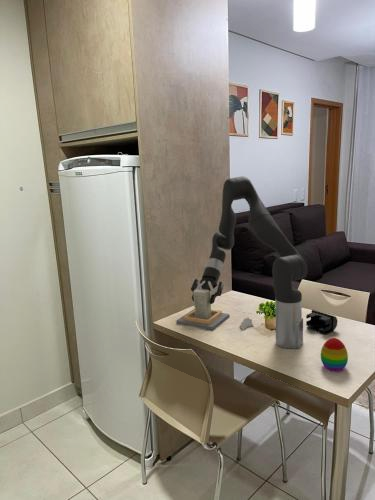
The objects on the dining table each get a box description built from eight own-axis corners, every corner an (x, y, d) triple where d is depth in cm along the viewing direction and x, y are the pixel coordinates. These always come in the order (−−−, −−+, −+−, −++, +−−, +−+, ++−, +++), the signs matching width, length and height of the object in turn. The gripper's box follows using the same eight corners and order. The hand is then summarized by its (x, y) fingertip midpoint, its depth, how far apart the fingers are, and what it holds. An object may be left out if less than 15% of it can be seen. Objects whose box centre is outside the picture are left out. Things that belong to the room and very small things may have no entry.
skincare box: (211, 316, 167) (210, 290, 165) (207, 319, 164) (205, 292, 161) (199, 314, 170) (197, 288, 168) (194, 317, 167) (192, 291, 164)
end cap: (337, 330, 150) (338, 314, 148) (326, 335, 146) (327, 319, 144) (315, 323, 158) (316, 308, 156) (305, 328, 154) (305, 312, 152)
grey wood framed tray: (229, 317, 169) (229, 310, 169) (213, 330, 156) (212, 323, 155) (194, 311, 178) (194, 305, 178) (176, 323, 165) (176, 317, 164)
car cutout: (247, 323, 162) (246, 313, 161) (258, 328, 157) (257, 318, 156) (219, 333, 154) (219, 322, 153) (230, 338, 149) (229, 327, 148)
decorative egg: (326, 358, 128) (326, 331, 126) (351, 365, 123) (352, 337, 121) (316, 368, 122) (316, 339, 120) (342, 376, 117) (343, 346, 115)
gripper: (196, 265, 173) (184, 296, 166) (224, 267, 166) (213, 300, 159) (202, 273, 179) (191, 303, 171) (229, 276, 172) (219, 308, 164)
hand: (202, 302), depth 165 cm, fingers open, 8 cm apart
